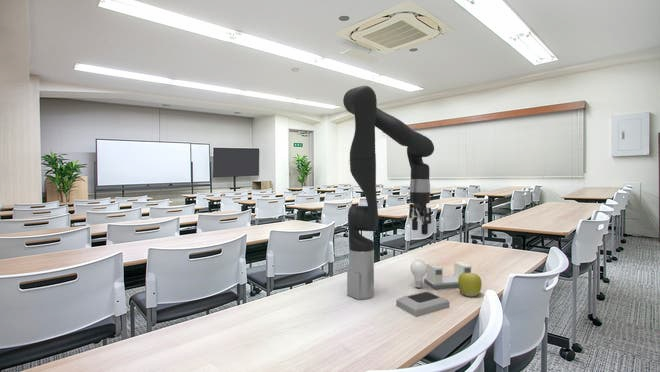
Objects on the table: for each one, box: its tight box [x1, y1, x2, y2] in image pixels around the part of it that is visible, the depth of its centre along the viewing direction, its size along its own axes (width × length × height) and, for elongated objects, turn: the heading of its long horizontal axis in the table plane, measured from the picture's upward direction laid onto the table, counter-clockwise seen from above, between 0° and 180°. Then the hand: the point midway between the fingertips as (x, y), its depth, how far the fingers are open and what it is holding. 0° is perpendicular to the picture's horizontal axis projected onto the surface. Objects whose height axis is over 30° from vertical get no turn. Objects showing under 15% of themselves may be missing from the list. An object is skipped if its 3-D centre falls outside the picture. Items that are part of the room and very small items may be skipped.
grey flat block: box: [395, 290, 450, 318], centre depth 109 cm, size 10×4×15 cm
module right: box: [453, 261, 472, 278], centre depth 131 cm, size 4×7×6 cm, turn 11°
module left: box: [425, 263, 444, 284], centre depth 128 cm, size 4×7×6 cm, turn 11°
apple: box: [458, 272, 482, 298], centre depth 119 cm, size 8×8×10 cm
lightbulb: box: [409, 259, 427, 289], centre depth 126 cm, size 6×6×11 cm
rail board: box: [423, 275, 460, 291], centre depth 130 cm, size 17×8×2 cm, turn 101°
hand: (419, 232), depth 125 cm, fingers open, 8 cm apart
